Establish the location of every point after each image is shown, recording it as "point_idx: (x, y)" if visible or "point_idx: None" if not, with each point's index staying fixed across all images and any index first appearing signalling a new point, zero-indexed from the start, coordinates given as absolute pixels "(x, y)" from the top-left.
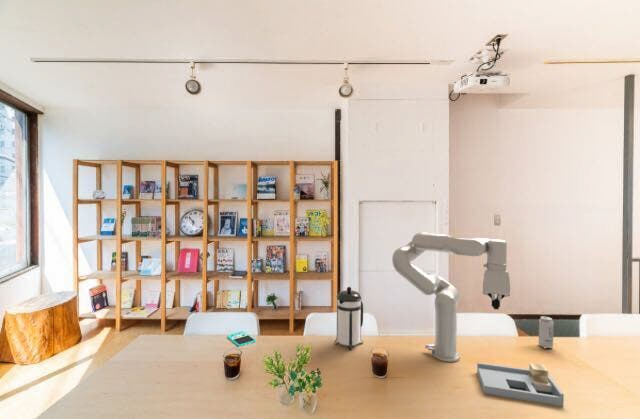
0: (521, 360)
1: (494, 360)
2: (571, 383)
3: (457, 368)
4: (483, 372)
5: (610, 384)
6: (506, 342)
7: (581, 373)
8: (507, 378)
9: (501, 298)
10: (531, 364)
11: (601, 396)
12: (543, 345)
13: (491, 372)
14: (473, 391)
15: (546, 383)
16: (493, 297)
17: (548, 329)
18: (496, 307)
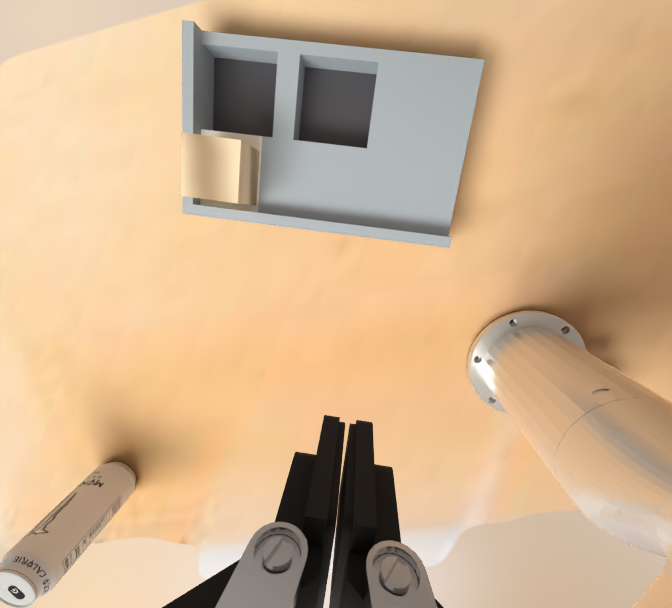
0: (234, 367)
1: (334, 352)
2: (122, 227)
3: (509, 263)
4: (441, 188)
5: (4, 245)
6: (241, 494)
7: (67, 305)
8: (356, 154)
9: (229, 577)
10: (233, 189)
11: (58, 154)
12: (122, 472)
13: (405, 195)
14: (513, 81)
15: None
16: (401, 605)
17: (52, 523)
18: (343, 441)
